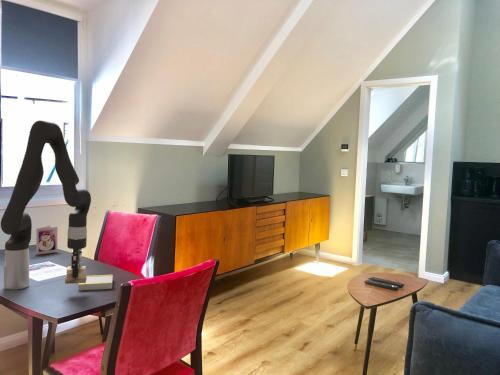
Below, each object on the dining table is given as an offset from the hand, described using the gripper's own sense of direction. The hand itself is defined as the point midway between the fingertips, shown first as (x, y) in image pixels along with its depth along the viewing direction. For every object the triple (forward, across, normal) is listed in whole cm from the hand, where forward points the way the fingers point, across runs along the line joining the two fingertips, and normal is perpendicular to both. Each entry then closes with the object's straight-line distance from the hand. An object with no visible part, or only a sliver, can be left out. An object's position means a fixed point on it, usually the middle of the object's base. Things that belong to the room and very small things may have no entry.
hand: (75, 275), depth 175 cm
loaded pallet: (+3, 0, 0) cm, 3 cm away
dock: (+8, -10, +8) cm, 15 cm away
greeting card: (+10, -76, -25) cm, 80 cm away
